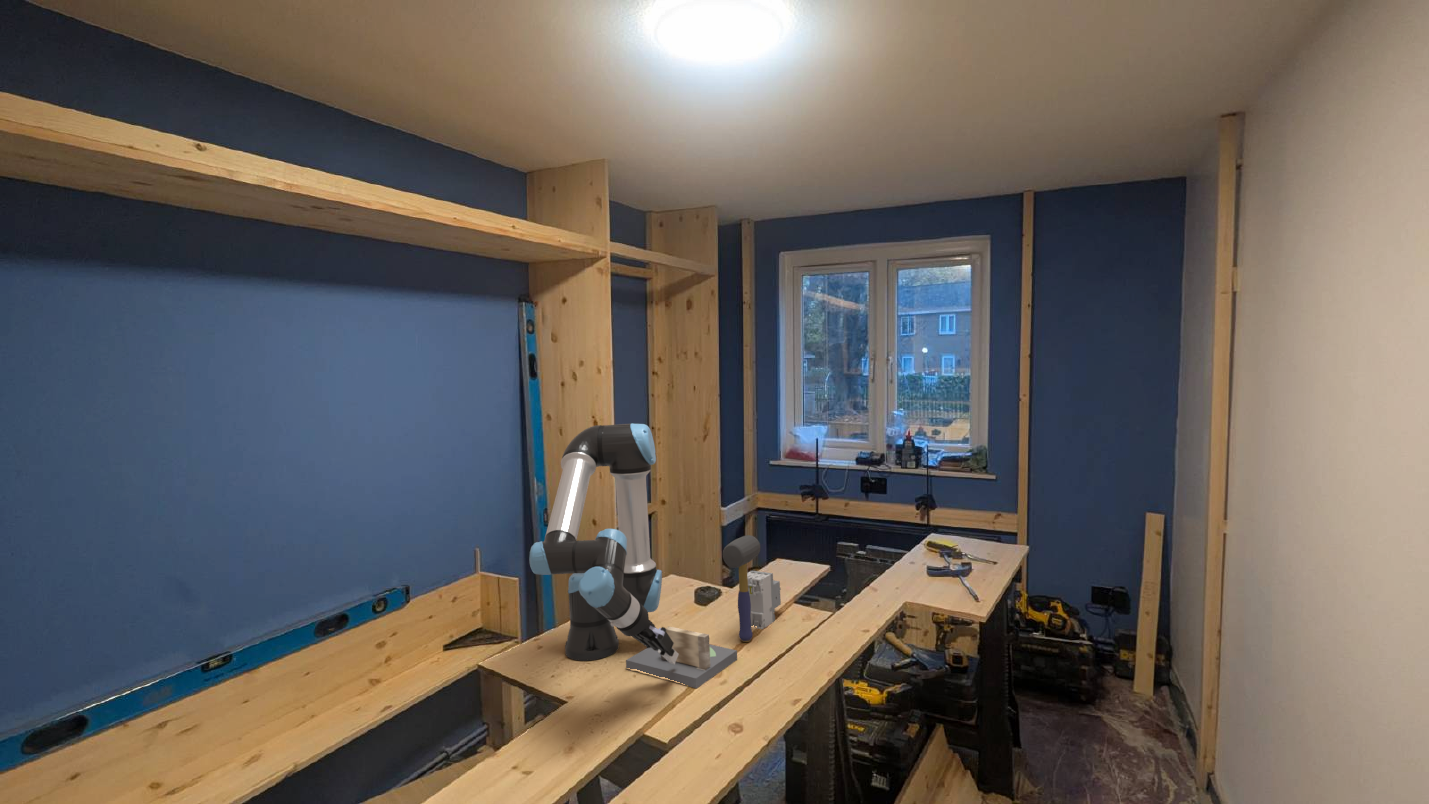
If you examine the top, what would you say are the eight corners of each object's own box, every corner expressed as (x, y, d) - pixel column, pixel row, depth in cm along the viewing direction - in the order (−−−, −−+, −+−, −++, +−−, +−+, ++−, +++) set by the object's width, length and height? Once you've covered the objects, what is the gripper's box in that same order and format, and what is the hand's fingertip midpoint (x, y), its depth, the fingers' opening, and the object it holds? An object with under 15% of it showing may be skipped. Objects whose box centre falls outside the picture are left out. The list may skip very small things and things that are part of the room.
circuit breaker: (783, 614, 205) (781, 568, 205) (762, 629, 193) (760, 580, 193) (762, 610, 209) (760, 565, 209) (741, 625, 197) (739, 577, 197)
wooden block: (658, 658, 169) (656, 628, 169) (666, 653, 172) (665, 624, 172) (704, 670, 160) (702, 638, 160) (712, 664, 163) (710, 633, 163)
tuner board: (626, 669, 170) (625, 659, 170) (670, 643, 185) (669, 635, 185) (696, 688, 157) (696, 678, 157) (737, 659, 173) (736, 650, 172)
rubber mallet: (748, 651, 178) (743, 544, 177) (724, 647, 181) (719, 542, 181) (766, 635, 189) (761, 534, 188) (743, 631, 192) (739, 532, 192)
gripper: (599, 624, 149) (648, 667, 163) (641, 634, 142) (689, 678, 156) (613, 595, 154) (660, 639, 168) (655, 603, 146) (700, 649, 160)
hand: (674, 658), depth 162 cm, fingers closed
